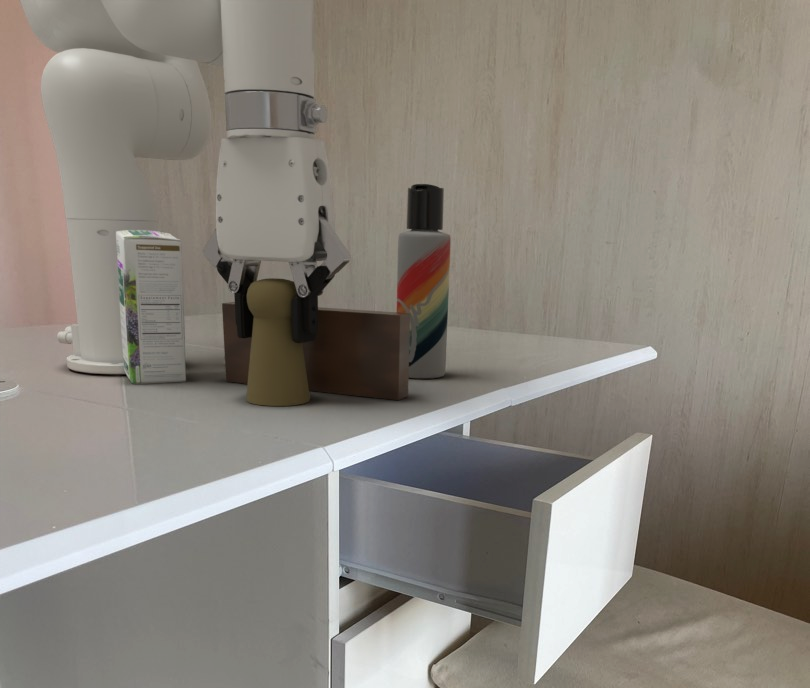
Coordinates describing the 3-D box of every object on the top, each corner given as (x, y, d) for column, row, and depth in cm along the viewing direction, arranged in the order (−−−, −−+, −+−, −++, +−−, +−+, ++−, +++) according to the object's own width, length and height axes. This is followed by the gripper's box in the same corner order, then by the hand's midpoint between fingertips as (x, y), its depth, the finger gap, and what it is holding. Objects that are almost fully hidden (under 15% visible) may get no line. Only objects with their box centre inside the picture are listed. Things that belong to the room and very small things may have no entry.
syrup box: (122, 371, 90) (111, 229, 84) (178, 369, 92) (171, 230, 86) (131, 385, 85) (120, 236, 79) (189, 382, 88) (183, 237, 82)
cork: (298, 407, 76) (296, 281, 72) (236, 403, 77) (230, 279, 73) (318, 396, 82) (317, 278, 78) (259, 392, 83) (255, 276, 79)
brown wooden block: (225, 381, 88) (221, 303, 85) (238, 378, 90) (235, 301, 87) (398, 400, 81) (400, 315, 78) (408, 396, 83) (410, 313, 80)
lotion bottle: (387, 376, 93) (391, 182, 86) (405, 369, 98) (410, 186, 91) (435, 380, 91) (443, 183, 85) (451, 373, 96) (459, 186, 90)
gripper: (379, 124, 71) (377, 341, 77) (214, 129, 78) (224, 329, 84) (337, 113, 65) (338, 351, 71) (161, 119, 71) (176, 336, 77)
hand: (276, 337), depth 77 cm, fingers closed on cork, 5 cm apart
